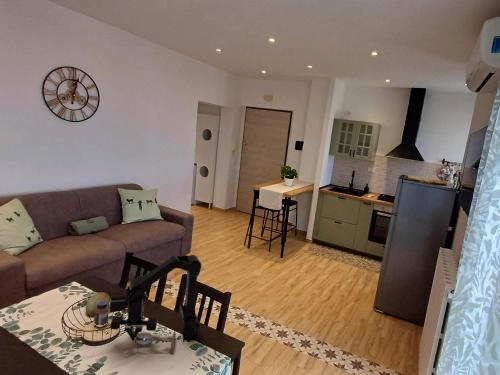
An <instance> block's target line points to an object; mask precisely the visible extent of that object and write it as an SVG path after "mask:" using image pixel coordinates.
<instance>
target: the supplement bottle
mask: <svg viewBox="0 0 500 375" xmlns="http://www.w3.org/2000/svg"><path fill="white" fill-rule="evenodd" d="M109 313H110V306H109V304H108V305H107V302H106V301H99V302H98V303H97V306H96V307H95V316H94V320H93V323H95V324H96V325H104V324H106V323H108V324H109Z"/></svg>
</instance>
